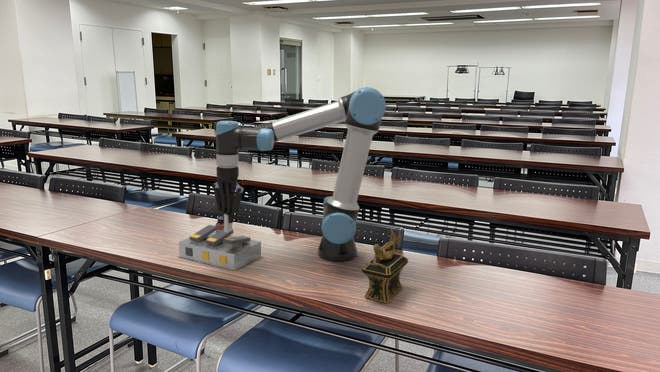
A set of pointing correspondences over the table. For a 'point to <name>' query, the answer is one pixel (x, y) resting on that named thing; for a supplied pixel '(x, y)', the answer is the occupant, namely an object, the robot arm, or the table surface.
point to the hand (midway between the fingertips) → (228, 231)
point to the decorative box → (385, 271)
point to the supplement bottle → (220, 224)
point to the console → (220, 252)
